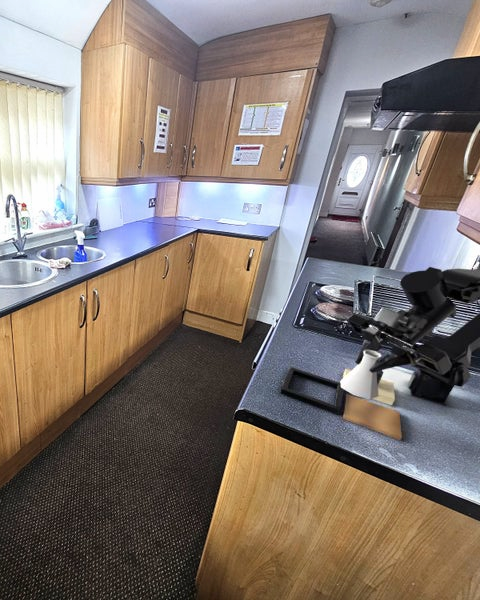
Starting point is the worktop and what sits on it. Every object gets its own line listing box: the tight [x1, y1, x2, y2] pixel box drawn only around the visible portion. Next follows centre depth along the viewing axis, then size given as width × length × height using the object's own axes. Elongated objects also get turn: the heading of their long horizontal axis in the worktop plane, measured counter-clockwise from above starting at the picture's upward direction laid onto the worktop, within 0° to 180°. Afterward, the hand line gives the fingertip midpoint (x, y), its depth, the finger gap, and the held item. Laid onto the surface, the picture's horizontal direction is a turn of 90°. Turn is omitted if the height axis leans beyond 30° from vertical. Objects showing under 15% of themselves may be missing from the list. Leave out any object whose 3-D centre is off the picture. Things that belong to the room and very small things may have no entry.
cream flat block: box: [342, 368, 396, 406], centre depth 85 cm, size 10×8×2 cm
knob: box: [376, 370, 384, 386], centre depth 84 cm, size 4×4×4 cm
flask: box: [339, 350, 383, 400], centre depth 75 cm, size 7×7×10 cm
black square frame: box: [280, 366, 344, 415], centre depth 85 cm, size 12×12×2 cm
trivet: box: [342, 393, 403, 441], centre depth 76 cm, size 10×10×1 cm
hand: (363, 367), depth 74 cm, fingers closed on flask, 3 cm apart
